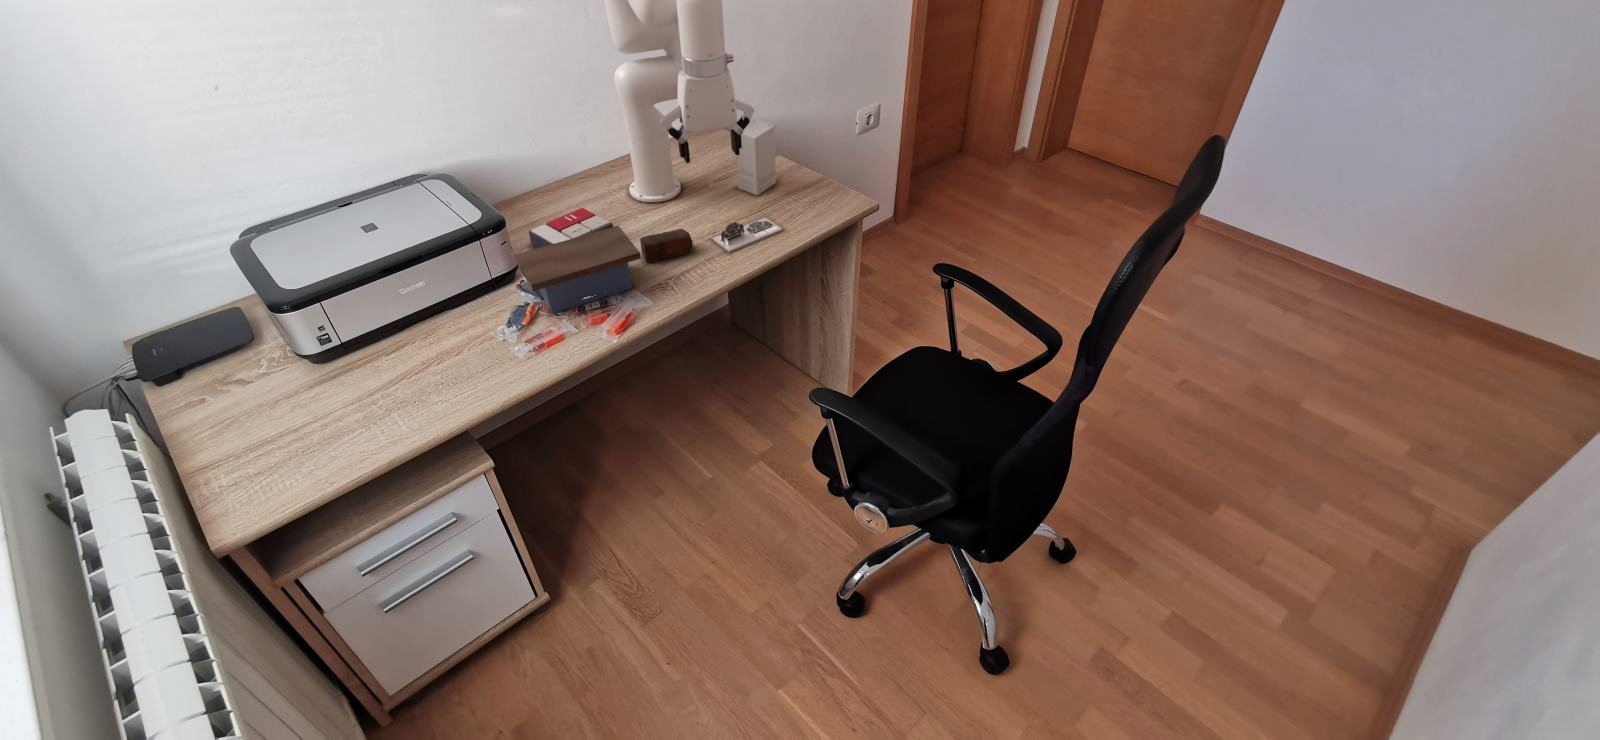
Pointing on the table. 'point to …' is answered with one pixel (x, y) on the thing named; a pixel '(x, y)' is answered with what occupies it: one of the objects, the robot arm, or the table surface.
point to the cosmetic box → (757, 157)
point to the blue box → (587, 288)
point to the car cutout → (745, 233)
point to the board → (576, 257)
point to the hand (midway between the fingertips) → (711, 156)
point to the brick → (666, 245)
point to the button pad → (567, 228)
